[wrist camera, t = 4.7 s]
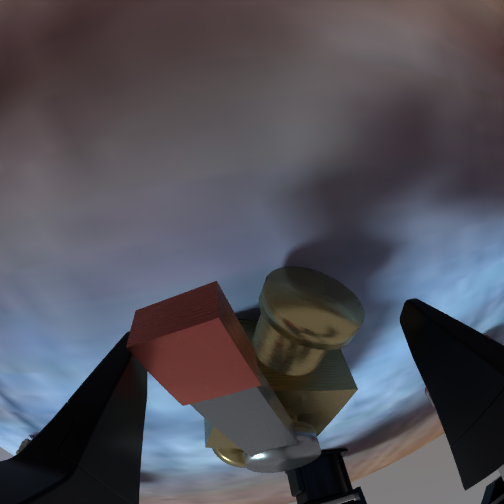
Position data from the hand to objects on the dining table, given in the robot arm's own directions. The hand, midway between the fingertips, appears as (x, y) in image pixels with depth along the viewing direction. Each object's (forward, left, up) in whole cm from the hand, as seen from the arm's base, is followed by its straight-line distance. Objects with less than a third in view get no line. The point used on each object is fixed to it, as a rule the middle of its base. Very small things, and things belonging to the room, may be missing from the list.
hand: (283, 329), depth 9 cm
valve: (-3, +9, -6) cm, 11 cm away
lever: (0, +5, 0) cm, 5 cm away
